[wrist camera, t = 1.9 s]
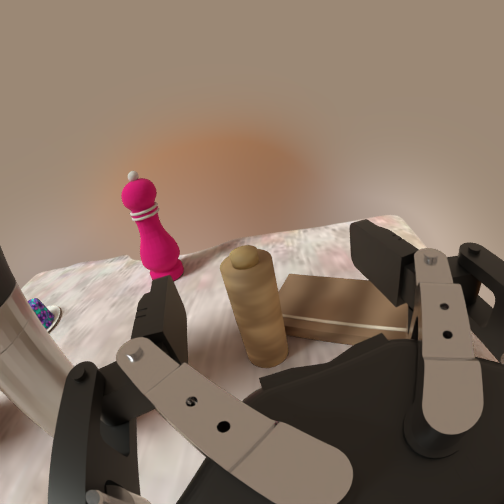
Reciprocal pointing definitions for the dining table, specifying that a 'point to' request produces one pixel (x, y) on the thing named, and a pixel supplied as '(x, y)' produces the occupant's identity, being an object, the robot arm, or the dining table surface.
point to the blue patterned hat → (45, 313)
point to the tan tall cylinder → (256, 304)
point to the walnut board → (338, 310)
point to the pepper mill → (151, 229)
